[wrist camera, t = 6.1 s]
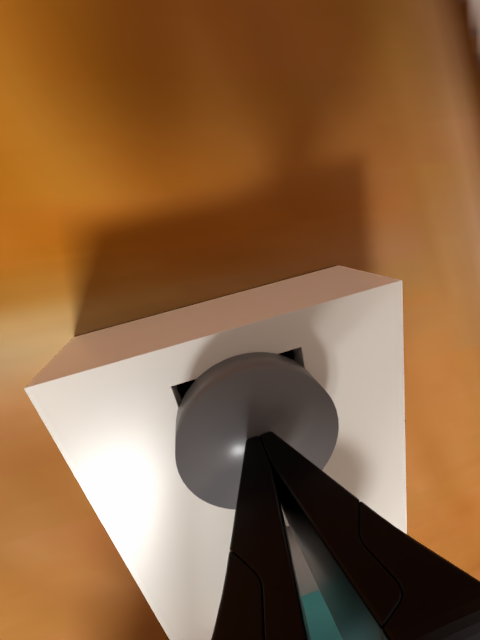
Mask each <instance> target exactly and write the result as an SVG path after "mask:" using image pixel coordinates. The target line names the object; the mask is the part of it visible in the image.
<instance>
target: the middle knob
mask: <svg viewBox="0 0 480 640" xmlns="http://www.w3.org/2000/svg"><path fill="white" fill-rule="evenodd" d="M286 529H287V533H288V538H289V542H290V547H291V551H292V556H293V560H294V565H295V569H296V574H297V578H298V583H299V587H300V592H301V596H302V601H303V605H304V609H305V614H306V618H307V623H308V627H309V632H310V636H311V640H343V639H342V637H341V635H340V633H339V631H338V628H337V626H336V624H335V622H334V620H333V618H332V616H331V613H330V611H329V609H328V607H327V605H326V603H325V601H324V599H323V596H322V594H321V592H320V590H319V588H318V586H317V584H316V581H315V579H314V577H313V575H312V573H311V571H310V569H309V566H308V564H307V562H306V560H305V558H304V556H303V554H302V552H301V549H300V547H299V545H298V543H297V541H296V539H295V537H294V534H293V532H292V530H291V528H290V526H287V527H286Z"/></svg>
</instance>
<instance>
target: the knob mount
mask: <svg viewBox="0 0 480 640" xmlns="http://www.w3.org/2000/svg"><path fill="white" fill-rule="evenodd" d="M289 350H293V354H294V360H295V361H296V362H298V363H299V364H301V365H302V366H303V367H304V368H305V369H306V370H307V371H308V372H309V373H310V374H311V375H312V376H313V377H314V378H315V379H316V381H317V382H318V383H319V384H320V385H321V386H322V387H323V388H324V390H325V391H326V392H327V393H328V394H329V396H330V397H331V399H332V401H333V402H334V405H335V408H336V410H337V415H338V423H339V430H338V438H337V442H336V445H335V448H334V451H333V453H332V455H331V457H330V459H329V461H328V462H327V464H326V465H325V467H324V468H323V470H322V471H323V472H325V473H326V474H327V475H329V476H330V477H331V478H332V479H334V480H335V481H336V482H338V483H339V484H340V485H341V486H343V487H344V488H345V489H346V490H348V491H349V492H350V493H352V494H353V495H354V496H355V497H357V498H358V499H359V502H360V501H362V502H363V503H365V504H366V505H367V506H368V507H370V508H371V509H372V510H373V511H375V512H376V513H377V514H379V515H380V516H381V517H383V518H384V519H386V520H387V521H388V522H390V523H391V524H392V525H394V526H395V527H397V528H398V529H400V530H401V531H403V532H404V533H406V534H407V514H406V458H405V403H404V347H403V292H402V280H400V279H395V278H391V277H387V276H383V275H378V274H374V273H370V272H365V271H361V270H357V269H353V268H348V267H344V266H340V265H338V266H334V267H330V268H327V269H323V270H319V271H316V272H312V273H308V274H305V275H301V276H297V277H294V278H290V279H286V280H282V281H279V282H275V283H271V284H268V285H264V286H260V287H257V288H253V289H249V290H246V291H242V292H238V293H235V294H231V295H227V296H223V297H220V298H216V299H212V300H209V301H205V302H201V303H198V304H194V305H190V306H187V307H183V308H179V309H176V310H172V311H168V312H164V313H161V314H157V315H153V316H150V317H146V318H142V319H139V320H135V321H131V322H128V323H124V324H120V325H117V326H113V327H109V328H105V329H102V330H98V331H94V332H91V333H87V334H83V335H80V336H76V337H73V338H72V339H71V340H70V341H69V342H68V343H67V344H66V345H65V346H64V347H63V349H62V350H61V351H60V352H59V353H58V354H57V355H56V356H55V357H54V358H53V359H52V360H51V361H50V362H49V363H48V364H47V365H46V366H45V367H44V368H43V369H42V370H41V371H40V372H39V373H38V374H37V376H36V377H35V378H34V379H33V380H32V381H31V382H30V383H29V384H28V385H27V386H26V387H25V388H24V389H25V391H26V393H27V394H28V396H29V398H30V400H31V401H32V403H33V405H34V407H35V408H36V410H37V412H38V413H39V415H40V417H41V419H42V420H43V422H44V424H45V426H46V427H47V429H48V431H49V432H50V434H51V436H52V438H53V439H54V441H55V443H56V445H57V446H58V448H59V450H60V451H61V453H62V455H63V457H64V458H65V460H66V462H67V464H68V465H69V467H70V469H71V470H72V472H73V474H74V476H75V477H76V479H77V481H78V483H79V484H80V486H81V488H82V489H83V491H84V493H85V495H86V496H87V498H88V500H89V502H90V503H91V505H92V507H93V509H94V510H95V512H96V514H97V515H98V517H99V519H100V521H101V522H102V524H103V526H104V528H105V529H106V531H107V533H108V534H109V536H110V538H111V540H112V541H113V543H114V545H115V547H116V548H117V550H118V552H119V553H120V555H121V557H122V559H123V560H124V562H125V564H126V566H127V567H128V569H129V571H130V572H131V574H132V576H133V578H134V579H135V581H136V583H137V585H138V586H139V588H140V590H141V591H142V593H143V595H144V597H145V598H146V600H147V602H148V604H149V605H150V607H151V609H152V610H153V612H154V614H155V616H156V617H157V619H158V621H159V623H160V624H161V626H162V628H163V629H164V631H165V633H166V635H167V636H168V638H169V640H211V638H212V634H213V630H214V626H215V622H216V618H217V613H218V609H219V605H220V600H221V596H222V591H223V585H224V579H225V574H226V568H227V562H228V555H229V552H230V543H231V536H232V530H233V523H234V516H235V510H234V509H226V508H221V507H217V506H214V505H211V504H209V503H207V502H205V501H203V500H201V499H200V498H198V497H197V496H196V495H194V494H193V493H192V492H191V491H190V490H189V489H188V488H187V486H186V485H185V484H184V482H183V481H182V479H181V477H180V475H179V473H178V469H177V466H176V459H175V429H176V417H177V412H178V408H179V406H180V403H181V401H182V399H181V396H180V394H179V391H178V388H177V385H178V384H181V383H184V382H187V381H191V380H194V379H197V378H198V377H199V376H200V375H202V374H203V373H204V372H205V371H206V370H208V369H209V368H211V367H212V366H214V365H215V364H217V363H219V362H221V361H223V360H225V359H228V358H231V357H233V356H236V355H241V354H245V353H253V352H268V353H275V354H280V353H283V352H286V351H289ZM282 512H283V510H282ZM283 516H284V520H285V524H286V527H287V526H289V524H288V522H287V519H286V517H285V515H284V513H283Z"/></svg>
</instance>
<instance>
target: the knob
mask: <svg viewBox="0 0 480 640" xmlns="http://www.w3.org/2000/svg"><path fill="white" fill-rule="evenodd" d="M338 430H339V423H338V415H337V410H336V408H335V405H334V402H333V401H332V399H331V397H330V396H329V394H328V393H327V392H326V391H325V390H324V388H323V387H322V386H321V385H320V384H319V383H318V382H317V381H316V379H315V378H314V377H313V376H312V375H311V374H310V373H309V372H308V371H307V370H306V369H305V368H304V367H303V366H302V365H301V364H299V363H298V362H296V361H294V360H293V359H290V358H288V357H286V356H283V355H279V354H275V353H268V352H253V353H245V354H241V355H236V356H233V357H231V358H228V359H225V360H223V361H221V362H219V363H217V364H215V365H214V366H212V367H211V368H209V369H208V370H206V371H205V372H204V373H203V374H202V375H200V376H199V377H198V378H197V379H195V381H194V383H193V384H192V385H191V386H190V387H189V389H188V390H187V392H186V393H185V395H184V397H183V399H182V401H181V403H180V406H179V408H178V412H177V417H176V429H175V459H176V466H177V469H178V473H179V475H180V477H181V479H182V481H183V482H184V484H185V485H186V486H187V488H188V489H189V490H190V491H191V492H192V493H193V494H194V495H196V496H197V497H198V498H200V499H201V500H203V501H205V502H207V503H209V504H211V505H214V506H217V507H221V508H226V509H234V510H236V503H237V497H238V490H239V483H240V477H241V470H242V463H243V457H244V450H245V444H246V440H247V439H249V438H251V437H254V436H259V437H260V435H261V434H263V433H266V432H269V431H272V432H274V433H275V434H276V435H277V436H279V437H280V438H281V439H283V440H284V441H285V442H286V443H288V444H289V445H290V446H291V447H293V448H294V449H295V450H297V451H298V452H299V453H300V454H302V455H303V456H304V457H306V458H307V459H308V460H309V461H311V462H312V463H313V464H315V465H316V466H317V467H318V468H320V469H321V470H323V468H324V467H325V465H326V464H327V462H328V461H329V459H330V457H331V455H332V453H333V451H334V448H335V445H336V442H337V438H338Z"/></svg>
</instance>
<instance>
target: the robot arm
mask: <svg viewBox="0 0 480 640" xmlns="http://www.w3.org/2000/svg"><path fill="white" fill-rule="evenodd" d="M282 510H283V512H282ZM283 513H284V515H285V517H286V519H287V522H288V524H289V526H290V528H291V530H292V532H293V534H294V537H295V539H296V541H297V543H298V545H299V547H300V549H301V552H302V554H303V556H304V558H305V560H306V562H307V564H308V566H309V569H310V571H311V573H312V575H313V577H314V579H315V581H316V584H317V586H318V588H319V590H320V592H321V594H322V596H323V599H324V601H325V603H326V605H327V607H328V609H329V611H330V613H331V616H332V618H333V620H334V622H335V624H336V626H337V628H338V631H339V633H340V635H341V637H342V639H343V640H480V581H478V580H477V579H475V578H474V577H472V576H471V575H469V574H468V573H466V572H464V571H463V570H461V569H460V568H458V567H457V566H455V565H453V564H452V563H450V562H449V561H447V560H446V559H444V558H442V557H441V556H439V555H438V554H436V553H435V552H433V551H432V550H430V549H428V548H427V547H425V546H424V545H422V544H421V543H419V542H418V541H416V540H415V539H413V538H412V537H410V536H409V535H407V534H406V533H404V532H403V531H401V530H400V529H398V528H397V527H395V526H394V525H392V524H391V523H390V522H388V521H387V520H386V519H384V518H383V517H381V516H380V515H379V514H377V513H376V512H375V511H373V510H372V509H371V508H370V507H368V506H367V505H366V504H365V503H363V502H362V501H360V502H359V499H358V498H357V497H355V496H354V495H353V494H352V493H350V492H349V491H348V490H346V489H345V488H344V487H343V486H341V485H340V484H339V483H338V482H336V481H335V480H334V479H332V478H331V477H330V476H329V475H327V474H326V473H325V472H323V471H322V470H321V469H320V468H318V467H317V466H316V465H315V464H313V463H312V462H311V461H309V460H308V459H307V458H306V457H304V456H303V455H302V454H300V453H299V452H298V451H297V450H295V449H294V448H293V447H291V446H290V445H289V444H288V443H286V442H285V441H284V440H283V439H281V438H280V437H279V436H277V435H276V434H275V433H274V432H272V431H269V432H266V433H263V434H261V435H260V437H259V436H254V437H251V438H249V439H247V440H246V444H245V450H244V457H243V463H242V470H241V477H240V483H239V490H238V497H237V503H236V510H235V516H234V523H233V530H232V536H231V543H230V552H229V555H228V562H227V568H226V574H225V579H224V585H223V591H222V596H221V600H220V605H219V609H218V613H217V618H216V622H215V626H214V630H213V634H212V638H211V640H311V636H310V632H309V627H308V623H307V618H306V614H305V609H304V605H303V601H302V596H301V592H300V587H299V583H298V578H297V574H296V569H295V565H294V560H293V556H292V551H291V547H290V542H289V538H288V533H287V529H286V524H285V520H284V516H283Z"/></svg>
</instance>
